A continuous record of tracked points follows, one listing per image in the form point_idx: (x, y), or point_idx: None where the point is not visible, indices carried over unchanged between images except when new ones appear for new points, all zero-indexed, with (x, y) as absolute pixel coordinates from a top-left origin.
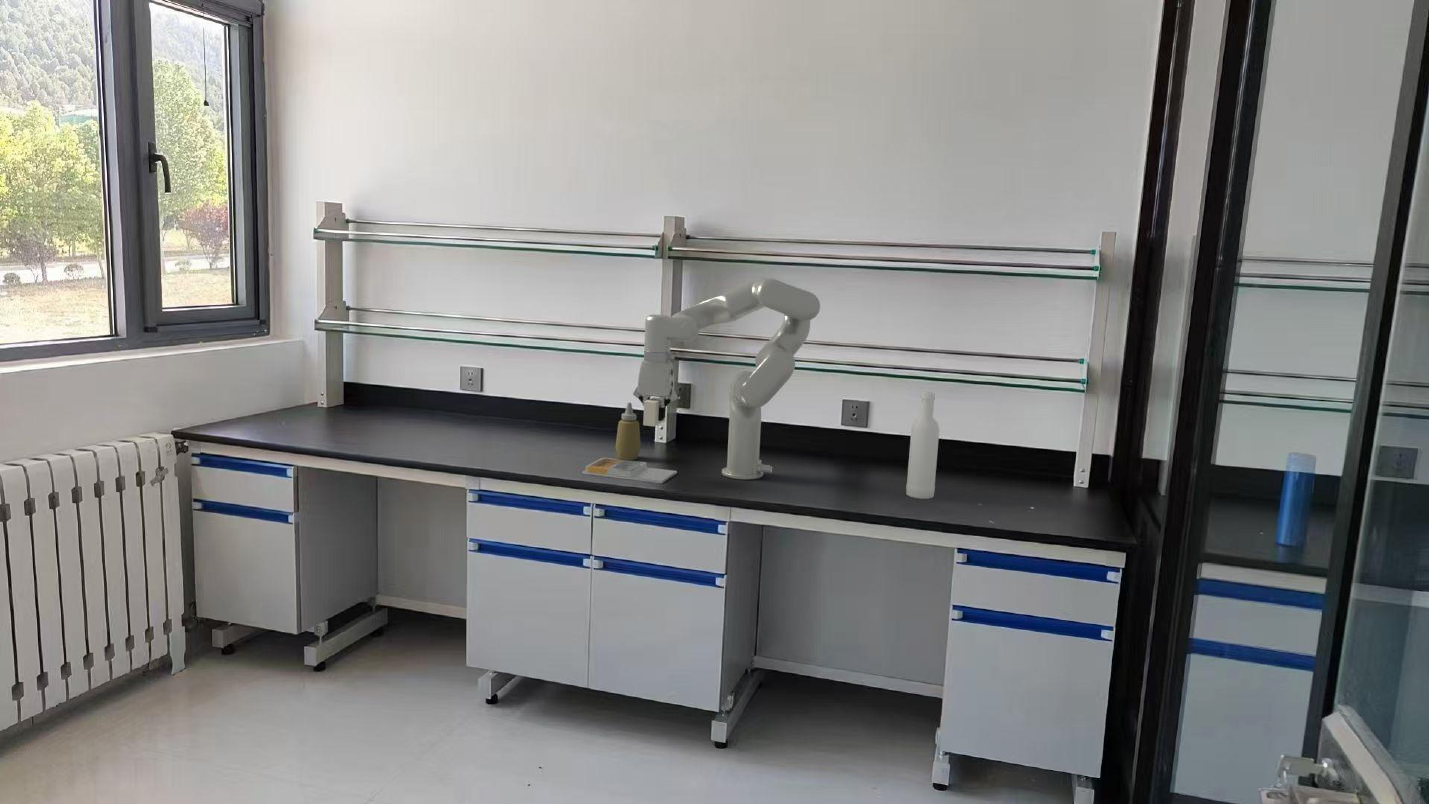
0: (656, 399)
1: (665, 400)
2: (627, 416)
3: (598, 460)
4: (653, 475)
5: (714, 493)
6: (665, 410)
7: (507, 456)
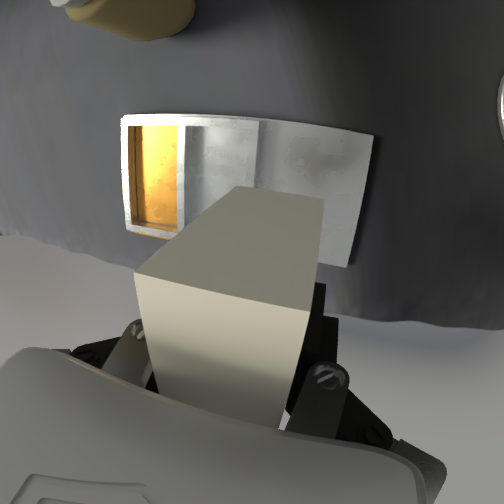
0: (222, 409)
1: (324, 424)
2: (70, 3)
3: (124, 158)
4: None
5: (467, 315)
6: (336, 350)
7: (6, 149)
